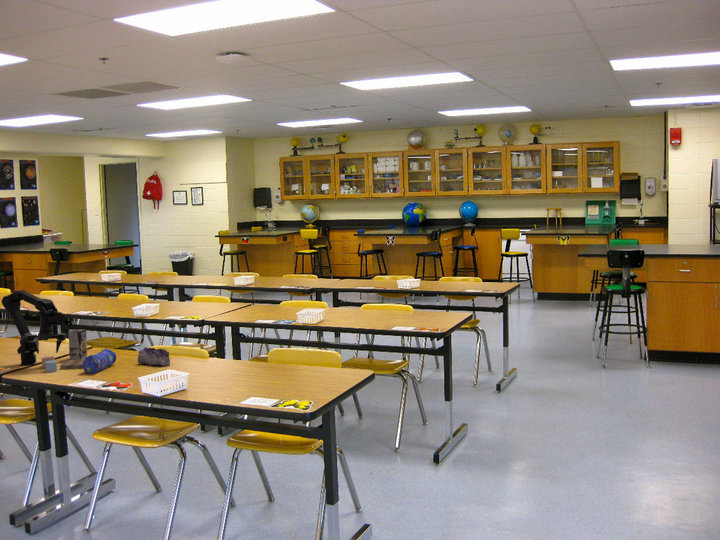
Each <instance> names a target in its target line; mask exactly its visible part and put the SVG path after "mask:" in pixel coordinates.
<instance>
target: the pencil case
mask: <svg viewBox="0 0 720 540" xmlns="http://www.w3.org/2000/svg"><path fill="white" fill-rule="evenodd" d="M83 360H84V361H83V364H82V366H83V368H82V369H83V371H84V372H85V374H87V375H88V374H89V375H92V374H95V373H97V372H100V371H102V370H105V369H106V368H108V367H110V366H112V365H114V364H115V363H116V361H117V353H115V351H113V350H111V349H108V348H104V349H103V350H101V351H99V352H98V353H95V354H90V355H87V358H85V359H83Z"/></svg>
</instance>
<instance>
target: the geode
mask: <svg viewBox="0 0 720 540" xmlns="http://www.w3.org/2000/svg"><path fill="white" fill-rule="evenodd" d="M137 364H145V365H147V366H149V367H150V366H151V367H153V366H160V367H162V368H163V367H170V366H171V359H170V352H169V351H167V350H166V349H165V348H157V349H156V348H154V347H147V346H146V347H143V349H140V350H139V351H138V355H137Z"/></svg>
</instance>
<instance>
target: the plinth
mask: <svg viewBox="0 0 720 540" xmlns="http://www.w3.org/2000/svg"><path fill="white" fill-rule="evenodd" d="M84 360H85V359H83V360H70V359H69V360H65V361H63V363H61V365H60V366H59V367H60V368H59V369H60V370H76V369H78V370H79V369H83V366H82V364H83V361H84Z"/></svg>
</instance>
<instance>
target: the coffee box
mask: <svg viewBox="0 0 720 540" xmlns="http://www.w3.org/2000/svg"><path fill="white" fill-rule="evenodd" d="M87 340H88V339H87V329H86V328H83V329H81V328H80V329H73V330H71V331H68V350H69V352H68V353H69V361H70V360H85V359H86V358H87V357H88V345H87V344H88V341H87Z"/></svg>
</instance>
